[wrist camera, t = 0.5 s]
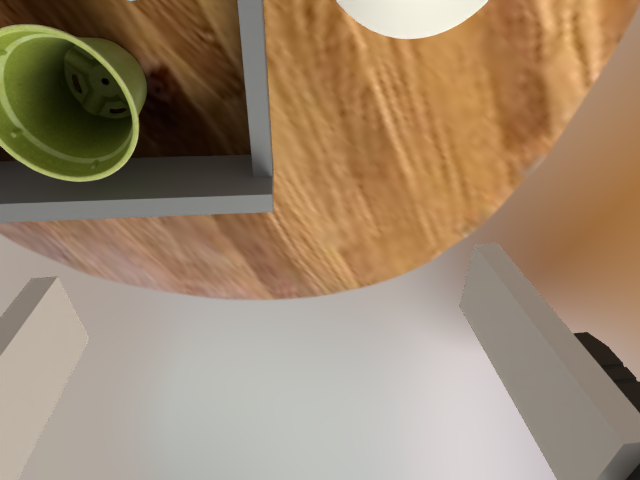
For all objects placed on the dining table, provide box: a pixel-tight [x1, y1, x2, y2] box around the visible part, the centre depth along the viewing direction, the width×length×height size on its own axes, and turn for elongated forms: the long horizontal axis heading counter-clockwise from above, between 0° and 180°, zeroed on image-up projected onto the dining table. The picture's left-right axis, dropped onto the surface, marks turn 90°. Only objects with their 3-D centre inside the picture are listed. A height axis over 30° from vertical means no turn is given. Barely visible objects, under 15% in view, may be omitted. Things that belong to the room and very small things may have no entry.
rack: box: [0, 0, 273, 223], centre depth 27 cm, size 20×26×8 cm
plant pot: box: [0, 24, 147, 182], centre depth 28 cm, size 9×9×9 cm
